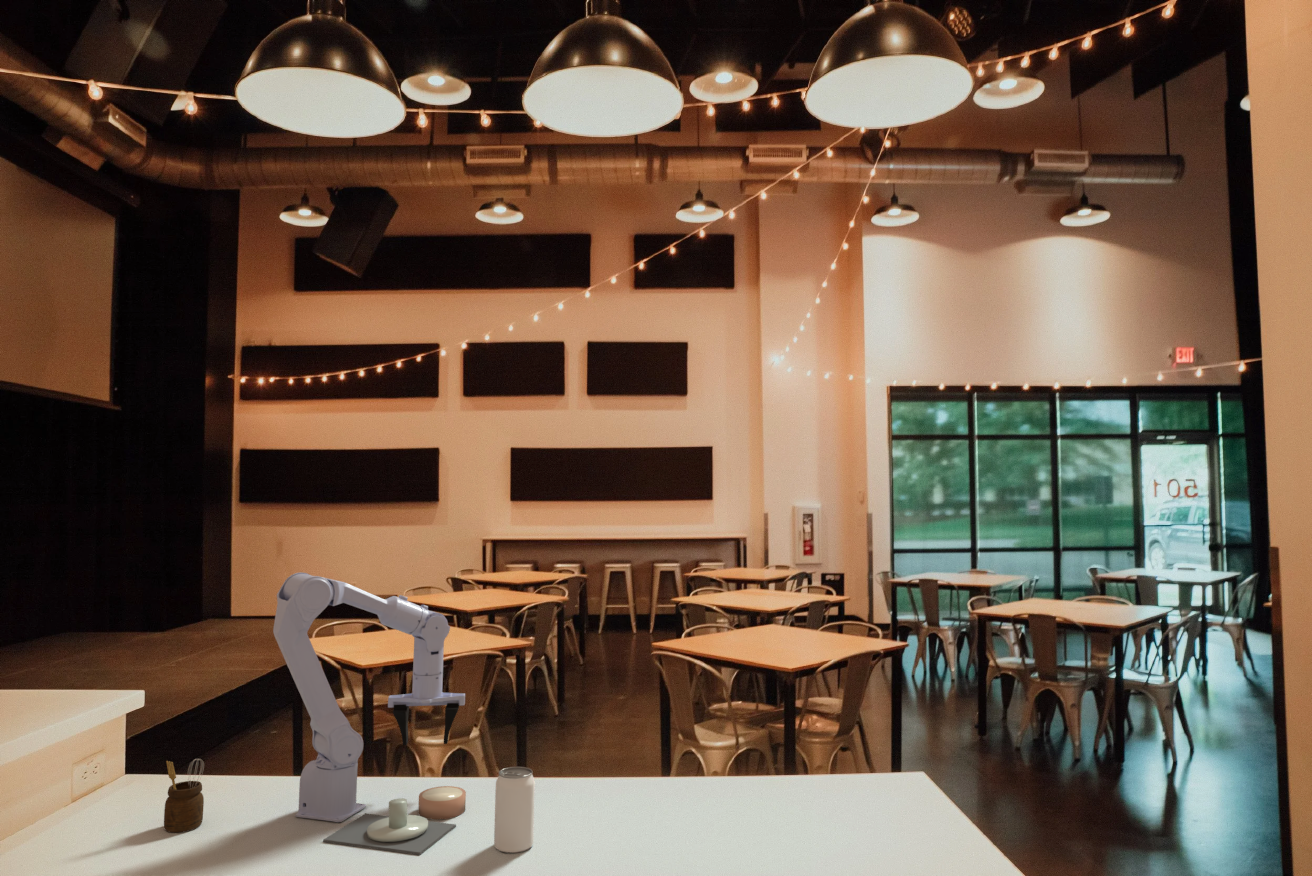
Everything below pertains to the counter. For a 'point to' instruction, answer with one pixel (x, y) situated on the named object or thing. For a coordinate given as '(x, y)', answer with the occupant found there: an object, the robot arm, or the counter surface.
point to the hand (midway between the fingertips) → (425, 743)
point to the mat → (358, 837)
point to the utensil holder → (183, 803)
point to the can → (514, 810)
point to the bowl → (442, 802)
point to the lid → (397, 824)
